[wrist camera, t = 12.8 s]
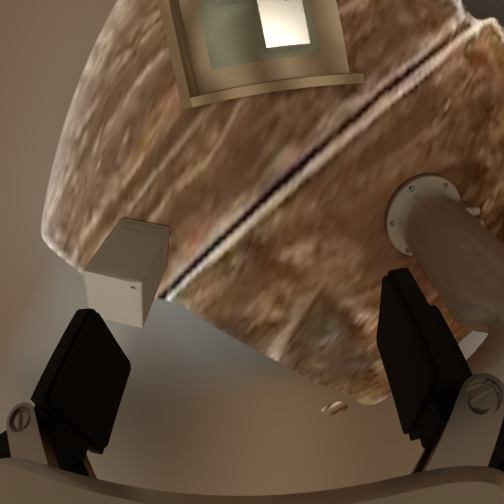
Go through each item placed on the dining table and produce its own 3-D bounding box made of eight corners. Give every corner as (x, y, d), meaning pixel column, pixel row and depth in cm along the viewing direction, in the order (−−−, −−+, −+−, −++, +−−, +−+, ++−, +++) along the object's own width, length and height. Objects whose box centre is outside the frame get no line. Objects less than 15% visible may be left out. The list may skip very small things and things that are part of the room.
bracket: (301, 48, 29) (310, 43, 24) (228, 58, 30) (222, 55, 24) (285, -30, 23) (290, -47, 18) (212, -19, 24) (204, -35, 19)
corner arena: (323, -40, 23) (334, -57, 18) (348, 80, 31) (364, 82, 26) (168, -15, 25) (152, -29, 20) (194, 103, 33) (182, 109, 28)
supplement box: (121, 215, 41) (81, 268, 31) (171, 226, 42) (143, 283, 31) (120, 259, 45) (87, 315, 35) (166, 269, 46) (143, 330, 35)
